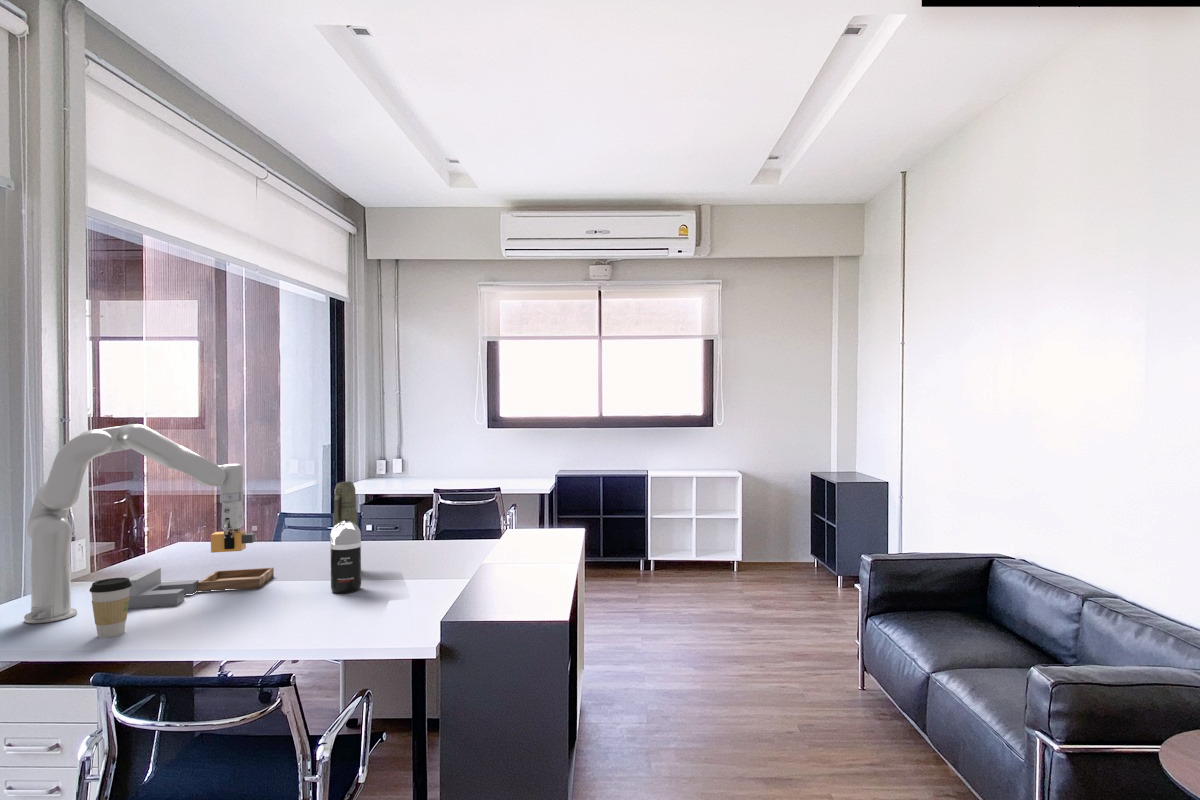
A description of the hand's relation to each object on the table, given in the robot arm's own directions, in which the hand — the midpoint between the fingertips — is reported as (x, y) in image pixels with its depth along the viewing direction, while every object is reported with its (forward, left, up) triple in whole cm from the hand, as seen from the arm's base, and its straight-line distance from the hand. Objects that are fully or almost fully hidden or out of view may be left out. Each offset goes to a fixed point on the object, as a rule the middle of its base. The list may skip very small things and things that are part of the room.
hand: (232, 546), depth 247 cm
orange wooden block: (0, -1, -1) cm, 1 cm away
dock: (-16, +17, -14) cm, 27 cm away
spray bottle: (-20, -43, -14) cm, 49 cm away
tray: (0, -2, -14) cm, 14 cm away
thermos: (+10, -38, -14) cm, 41 cm away
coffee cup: (-53, +15, -14) cm, 57 cm away
